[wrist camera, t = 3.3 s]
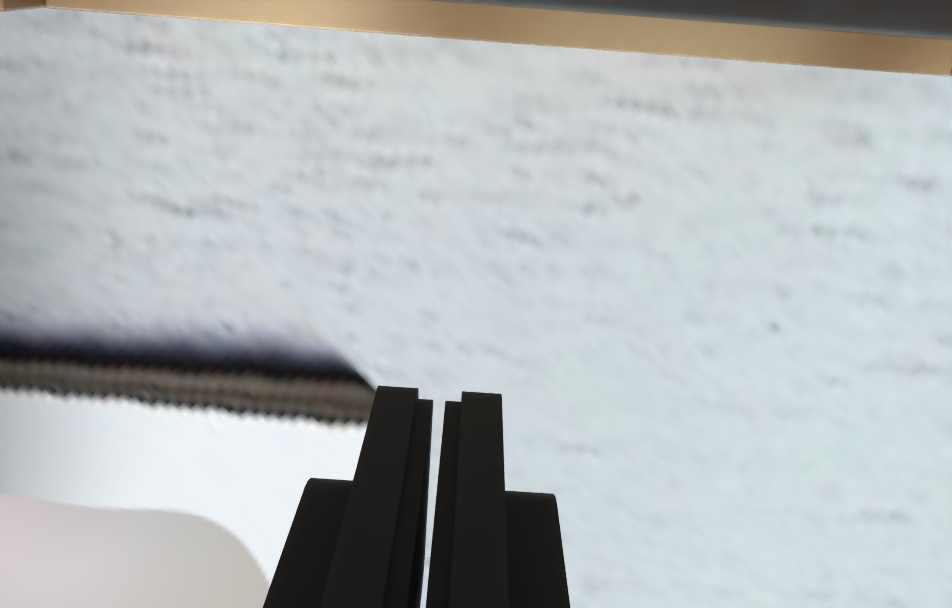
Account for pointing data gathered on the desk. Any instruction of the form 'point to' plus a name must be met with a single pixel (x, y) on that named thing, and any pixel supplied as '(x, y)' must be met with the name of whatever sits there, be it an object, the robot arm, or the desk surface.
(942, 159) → the desk surface
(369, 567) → the robot arm
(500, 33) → the brown wooden tray
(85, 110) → the desk surface
